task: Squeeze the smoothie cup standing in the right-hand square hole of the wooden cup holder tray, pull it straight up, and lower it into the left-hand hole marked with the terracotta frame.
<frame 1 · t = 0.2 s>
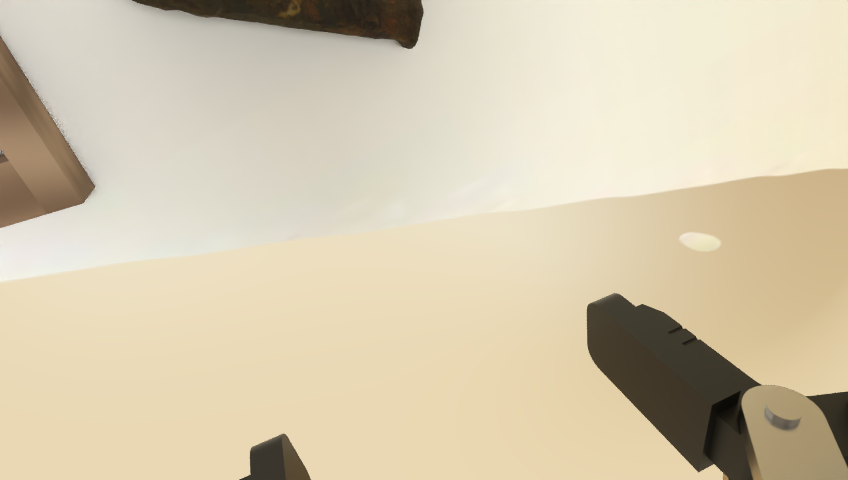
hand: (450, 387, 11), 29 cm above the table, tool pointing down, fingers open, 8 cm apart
hand tool: (277, 9, 32), on the table
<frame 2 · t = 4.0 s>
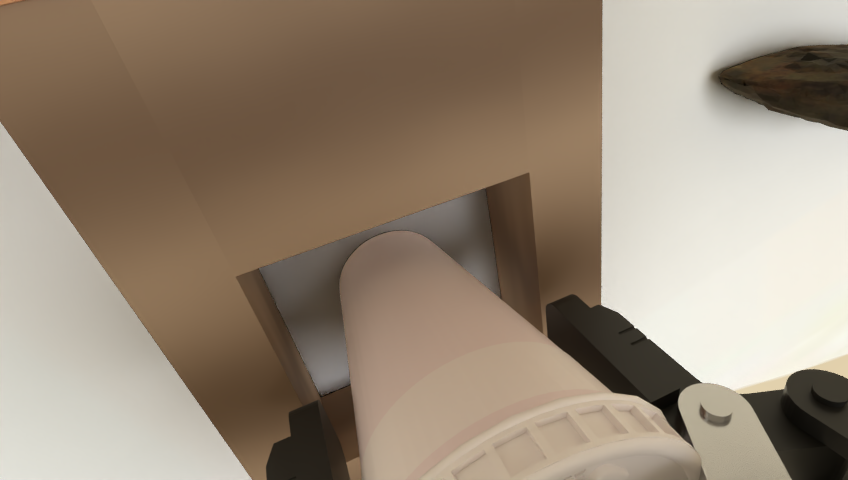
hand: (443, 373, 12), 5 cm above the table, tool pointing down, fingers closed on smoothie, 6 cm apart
smoothie: (391, 276, 16), resting in wooden cup holder tray, touching gripper
wooden cup holder tray: (325, 48, 12), on the table
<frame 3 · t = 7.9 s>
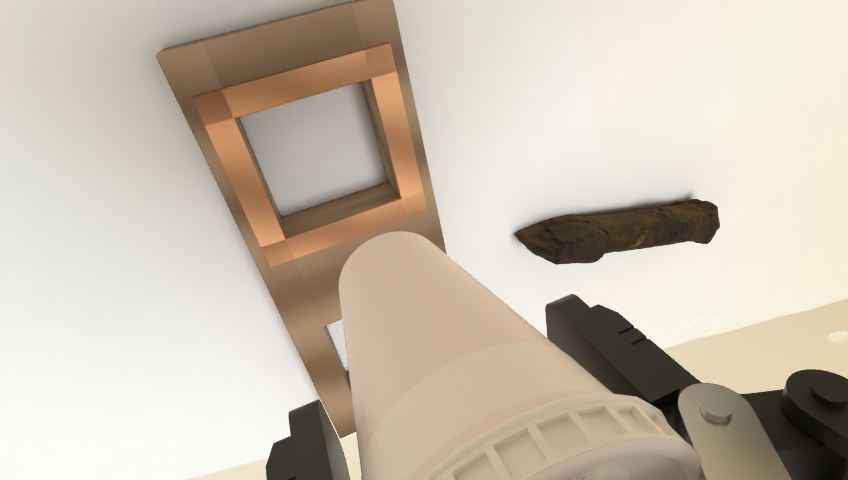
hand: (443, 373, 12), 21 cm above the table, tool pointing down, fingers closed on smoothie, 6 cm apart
smoothie: (391, 277, 16), point 16 cm above the table, touching gripper
wooden cup holder tray: (351, 244, 33), on the table
hand tool: (602, 226, 42), on the table
when the fingers open (6 cm above the table, at t = 11.7 s): smoothie drops 1 cm, resting in wooden cup holder tray.
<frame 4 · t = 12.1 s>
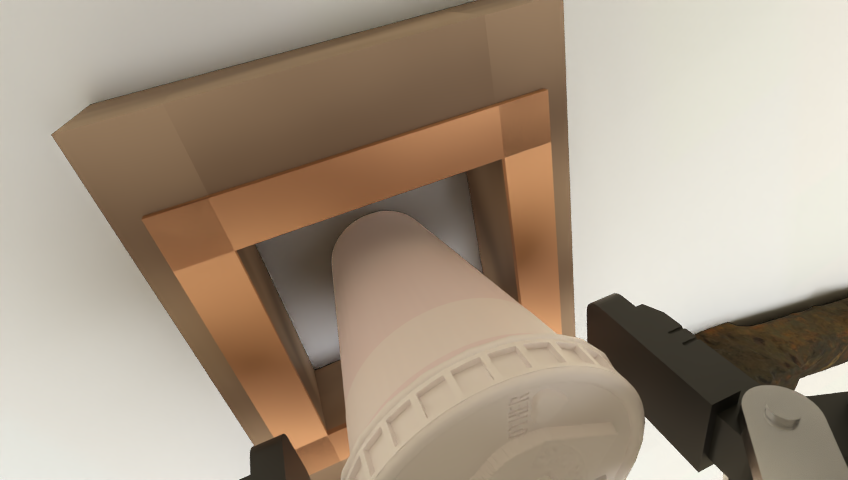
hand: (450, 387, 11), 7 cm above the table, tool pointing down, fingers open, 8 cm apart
smoothie: (380, 254, 17), resting in wooden cup holder tray
wooden cup holder tray: (422, 393, 21), on the table
hand tool: (760, 327, 29), on the table
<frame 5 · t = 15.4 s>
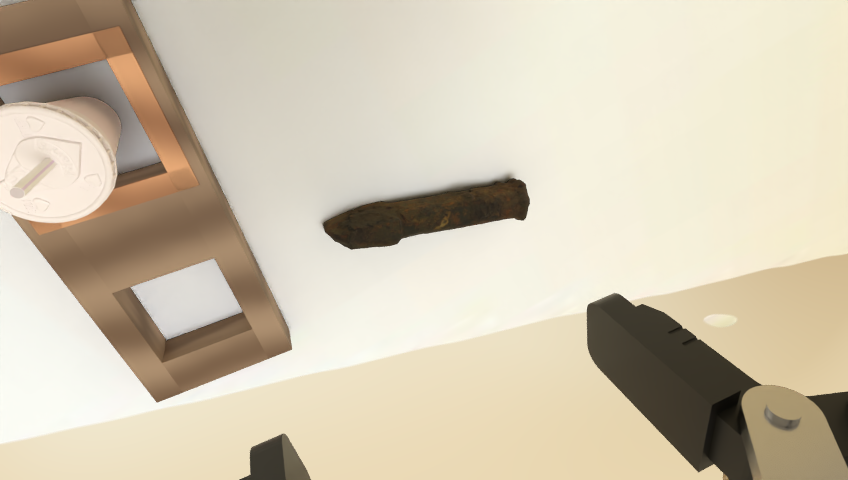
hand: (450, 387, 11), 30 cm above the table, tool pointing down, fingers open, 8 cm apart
smoothie: (90, 123, 32), resting in wooden cup holder tray
wooden cup holder tray: (145, 217, 36), on the table
hand tool: (422, 209, 45), on the table
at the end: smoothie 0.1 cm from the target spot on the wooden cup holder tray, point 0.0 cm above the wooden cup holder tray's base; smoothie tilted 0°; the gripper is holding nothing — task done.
